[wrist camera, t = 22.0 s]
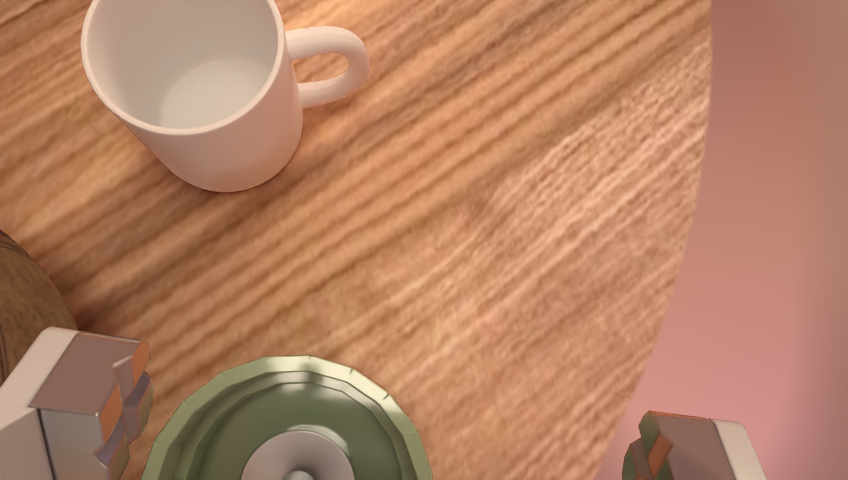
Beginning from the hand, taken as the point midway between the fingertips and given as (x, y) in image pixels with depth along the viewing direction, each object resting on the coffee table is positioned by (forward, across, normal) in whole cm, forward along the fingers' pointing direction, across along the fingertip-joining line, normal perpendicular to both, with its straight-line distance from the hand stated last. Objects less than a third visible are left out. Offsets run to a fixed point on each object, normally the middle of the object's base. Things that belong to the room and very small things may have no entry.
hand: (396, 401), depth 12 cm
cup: (+28, +9, +10) cm, 31 cm away
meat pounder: (+14, +3, +22) cm, 27 cm away
